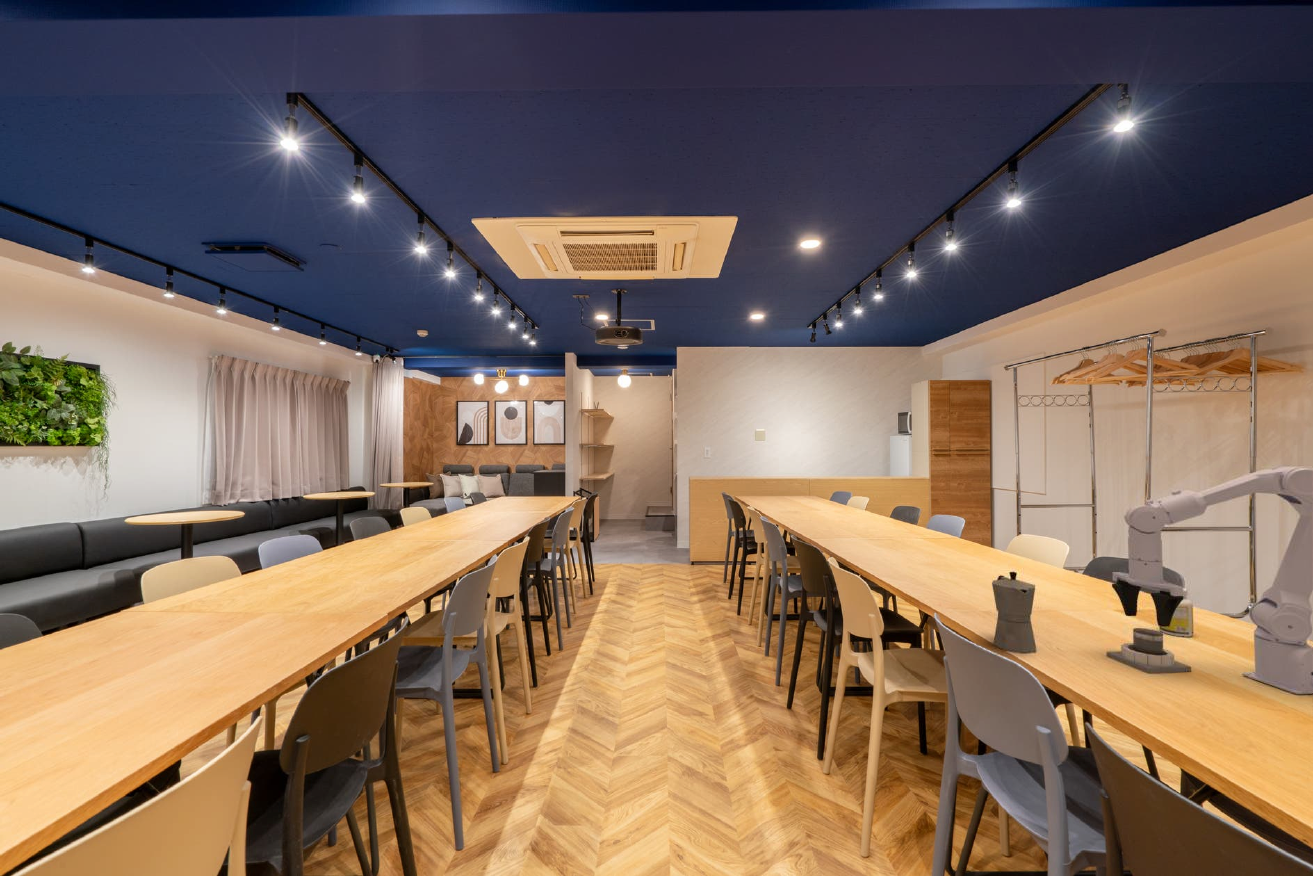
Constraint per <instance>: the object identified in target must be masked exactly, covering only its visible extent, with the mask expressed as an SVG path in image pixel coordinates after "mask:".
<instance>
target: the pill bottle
mask: <svg viewBox="0 0 1313 876" xmlns="http://www.w3.org/2000/svg"><path fill="white" fill-rule="evenodd" d="M1187 596H1188V589H1187V588H1185V587H1183V600H1182V601H1181V603H1180V604H1179V605H1178V607H1177V608H1176V610H1175V612H1174V614H1173V617H1172V620H1171V623H1170V626H1168V627H1161V626H1158V627H1159V631H1160V632H1161V633H1163V634H1167V635H1169V634H1170V636H1175V637H1182V636H1184V638H1187V637H1188V638H1189V637H1192V636H1194V605H1193V601H1192V600H1190V599H1189V598H1187Z"/></svg>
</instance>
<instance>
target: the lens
mask: <svg viewBox="0 0 1313 876" xmlns="http://www.w3.org/2000/svg"><path fill="white" fill-rule="evenodd" d="M1132 636H1133V637H1132V638H1133V639H1132V641H1133V642H1132V643H1133V651H1136V652H1140V653H1144V654H1150V655H1163V649H1164V632H1162V631H1158V630H1154V629H1150V628H1143V627H1135V628H1132Z"/></svg>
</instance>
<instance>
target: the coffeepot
mask: <svg viewBox="0 0 1313 876" xmlns="http://www.w3.org/2000/svg"><path fill="white" fill-rule="evenodd" d="M1008 573H1009V577H1006V576H1004V575H998V576H997V579H995V580H992V582H991V586H992V590H993V591H992V592H993V597H994V602H995V603H994V604H995V607H996V608H995V609H996V611H997V619H996V627H995V632H994V638H993V645H994V646H995V647H996V648H999V649H1001V650H1003V651H1008V652H1013V653H1017V652H1020V654H1032V653H1031V652H1033V653H1036V651H1037V645H1036V639H1035V635H1034V629H1033V625H1032V621H1031V617H1032V616H1031V615H1032V612H1033V605H1034V601H1035V600H1034V599H1035V593H1036V592H1035V591H1036V585H1035V584H1033V583H1030V582H1026V581H1023V580H1019V579H1017V575H1018V573H1017V572H1016V571H1008Z"/></svg>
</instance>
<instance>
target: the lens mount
mask: <svg viewBox="0 0 1313 876" xmlns="http://www.w3.org/2000/svg"><path fill="white" fill-rule="evenodd" d="M1105 655H1106V657H1107V658H1110V657H1111V658H1110V659H1112V658H1113V660H1115V661H1117V662H1120V663H1122V664H1124V665H1127V666H1129V667H1132V666H1133V667H1132V668H1135V669H1137V670H1139V671H1142V672H1144V673H1147V674H1162V673H1163V674H1164V673H1167V672H1169V673H1187V671H1191V672H1192V666H1190V665H1188V664H1185V663H1181V662H1180V661H1176V660H1175V654H1174V653H1173V652H1171V651H1170V650H1168V649H1165V648H1163V655H1150V654H1144V653H1140V652H1136V651H1133V642H1132V643H1131V642H1130V643H1123V644H1121V645H1120V650H1117V651H1106V654H1105ZM1185 671H1186V672H1185ZM1167 674H1168V673H1167Z"/></svg>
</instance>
